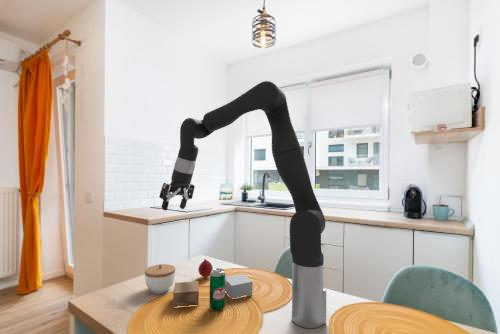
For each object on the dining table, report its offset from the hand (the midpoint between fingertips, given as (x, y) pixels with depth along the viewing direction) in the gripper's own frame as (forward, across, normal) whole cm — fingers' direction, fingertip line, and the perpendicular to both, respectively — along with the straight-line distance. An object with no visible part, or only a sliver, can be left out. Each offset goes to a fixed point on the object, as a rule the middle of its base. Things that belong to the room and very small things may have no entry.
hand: (173, 209), depth 104 cm
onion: (+26, +13, -15) cm, 33 cm away
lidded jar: (+28, -4, -9) cm, 30 cm away
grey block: (+20, +10, -33) cm, 40 cm away
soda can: (+20, -2, -34) cm, 40 cm away
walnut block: (+24, -5, -23) cm, 34 cm away
